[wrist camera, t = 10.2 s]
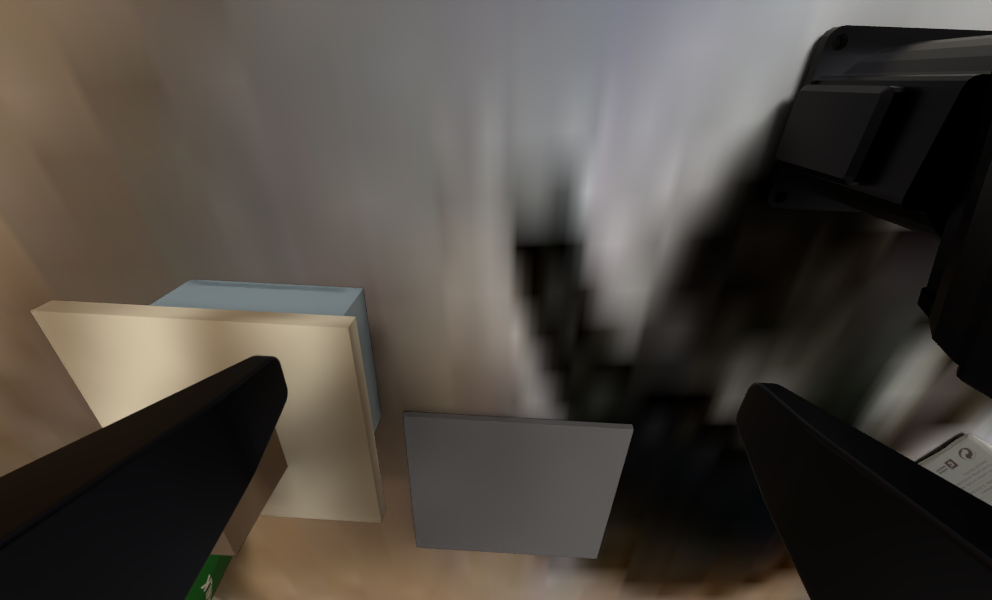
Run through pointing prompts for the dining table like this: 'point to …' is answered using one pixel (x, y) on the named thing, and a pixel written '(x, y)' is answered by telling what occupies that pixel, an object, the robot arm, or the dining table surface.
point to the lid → (214, 347)
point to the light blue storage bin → (284, 310)
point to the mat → (513, 482)
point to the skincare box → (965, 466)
